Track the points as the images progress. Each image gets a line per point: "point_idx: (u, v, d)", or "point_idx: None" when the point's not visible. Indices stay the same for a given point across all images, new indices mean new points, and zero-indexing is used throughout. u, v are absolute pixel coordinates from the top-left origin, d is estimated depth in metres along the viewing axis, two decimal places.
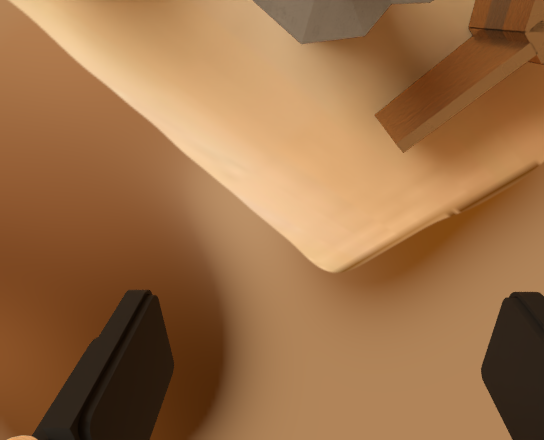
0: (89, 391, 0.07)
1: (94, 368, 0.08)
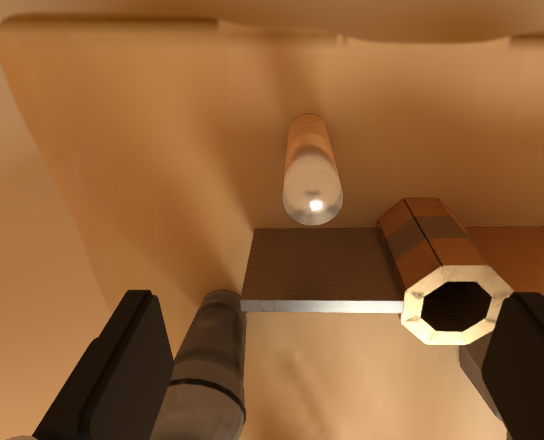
0: (90, 392, 0.07)
1: (94, 368, 0.08)
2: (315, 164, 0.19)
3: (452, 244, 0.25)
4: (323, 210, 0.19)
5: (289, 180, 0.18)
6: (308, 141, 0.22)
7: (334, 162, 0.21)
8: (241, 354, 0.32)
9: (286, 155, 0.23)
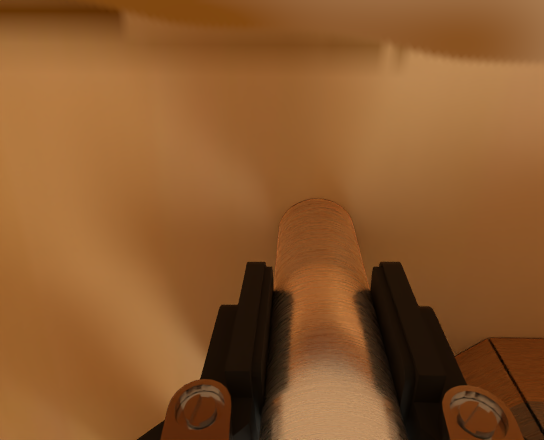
0: (253, 343, 0.08)
1: (248, 325, 0.09)
2: None
3: None
4: None
5: None
6: (323, 345, 0.08)
7: (405, 437, 0.07)
8: None
9: None
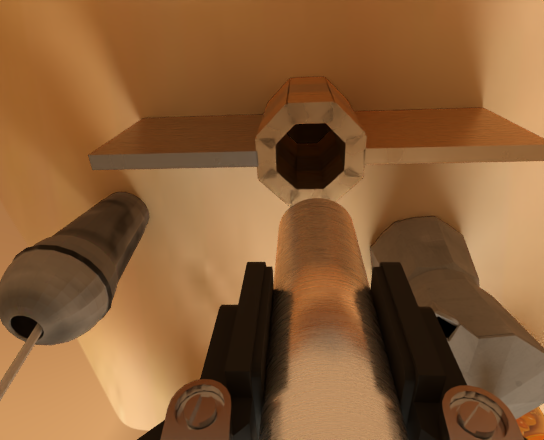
0: (253, 343, 0.08)
1: (248, 325, 0.09)
2: None
3: (310, 94, 0.23)
4: None
5: None
6: (324, 344, 0.08)
7: (406, 437, 0.07)
8: (122, 242, 0.30)
9: (268, 346, 0.09)
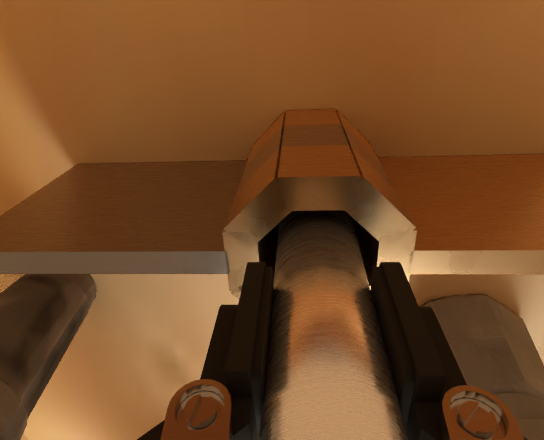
0: (253, 343, 0.08)
1: (248, 325, 0.09)
2: None
3: (316, 152, 0.14)
4: None
5: None
6: (324, 344, 0.08)
7: (406, 436, 0.07)
8: (41, 349, 0.21)
9: (268, 346, 0.09)
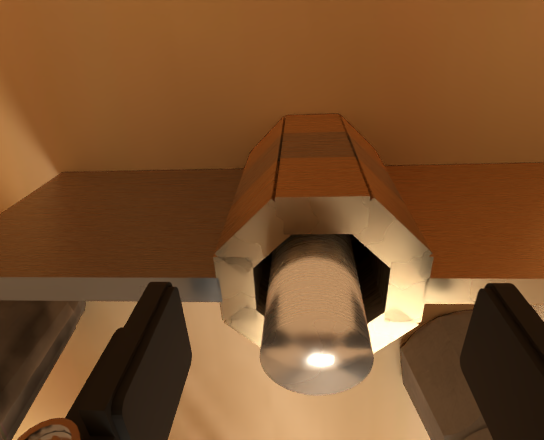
0: (121, 376, 0.07)
1: (123, 355, 0.08)
2: (321, 297, 0.10)
3: (319, 165, 0.12)
4: (335, 375, 0.10)
5: (272, 330, 0.10)
6: None
7: (353, 264, 0.12)
8: (22, 372, 0.19)
9: None
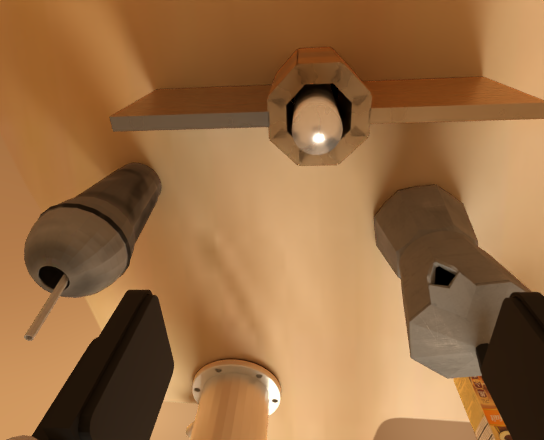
0: (90, 392, 0.07)
1: (94, 368, 0.08)
2: (320, 102, 0.22)
3: (318, 58, 0.25)
4: (326, 141, 0.23)
5: (298, 114, 0.22)
6: (313, 88, 0.26)
7: None
8: (138, 206, 0.32)
9: (294, 102, 0.27)
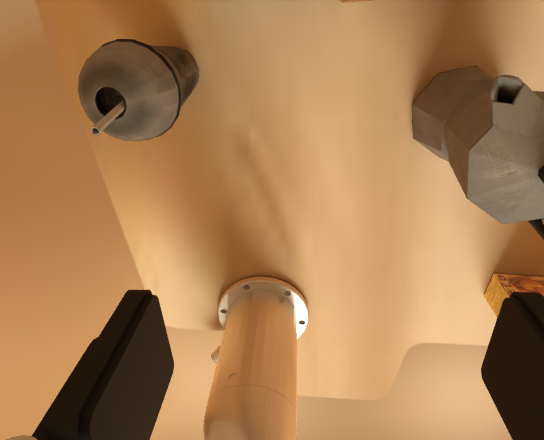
0: (90, 392, 0.07)
1: (94, 368, 0.08)
2: None
3: None
4: None
5: None
6: None
7: None
8: (184, 70, 0.32)
9: None
